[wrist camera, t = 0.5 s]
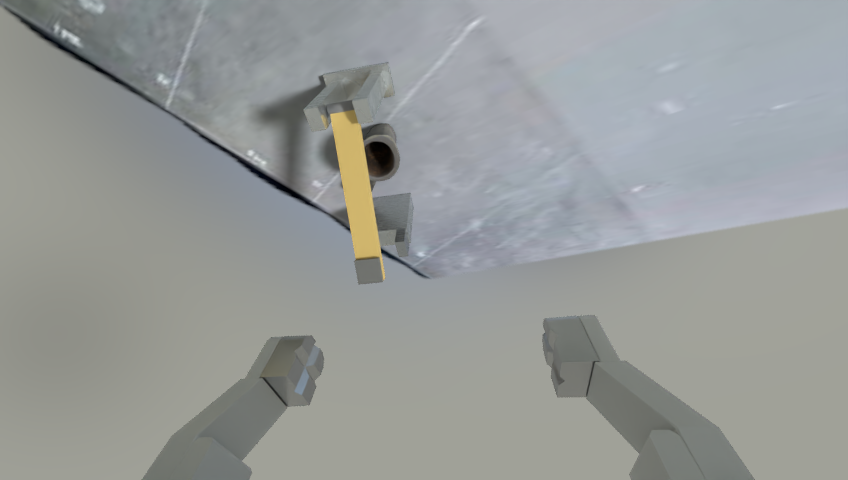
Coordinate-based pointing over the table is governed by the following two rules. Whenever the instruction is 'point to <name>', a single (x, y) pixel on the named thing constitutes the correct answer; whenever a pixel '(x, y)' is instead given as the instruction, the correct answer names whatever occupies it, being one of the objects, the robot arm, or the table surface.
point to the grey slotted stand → (351, 94)
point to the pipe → (381, 153)
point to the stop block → (394, 221)
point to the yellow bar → (357, 192)
